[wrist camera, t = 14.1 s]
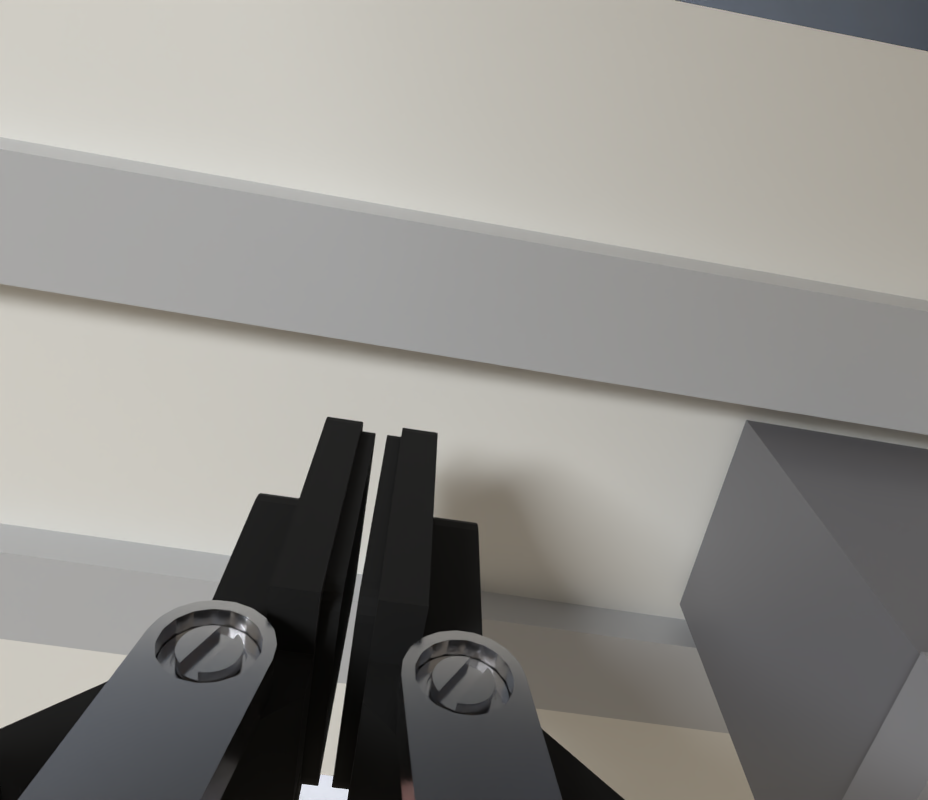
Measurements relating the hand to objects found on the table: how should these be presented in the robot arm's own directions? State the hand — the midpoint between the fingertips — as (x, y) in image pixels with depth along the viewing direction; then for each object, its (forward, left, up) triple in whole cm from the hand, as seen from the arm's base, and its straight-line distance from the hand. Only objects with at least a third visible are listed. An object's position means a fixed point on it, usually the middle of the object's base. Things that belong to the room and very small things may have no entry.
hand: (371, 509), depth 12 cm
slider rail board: (0, +1, -5) cm, 5 cm away
